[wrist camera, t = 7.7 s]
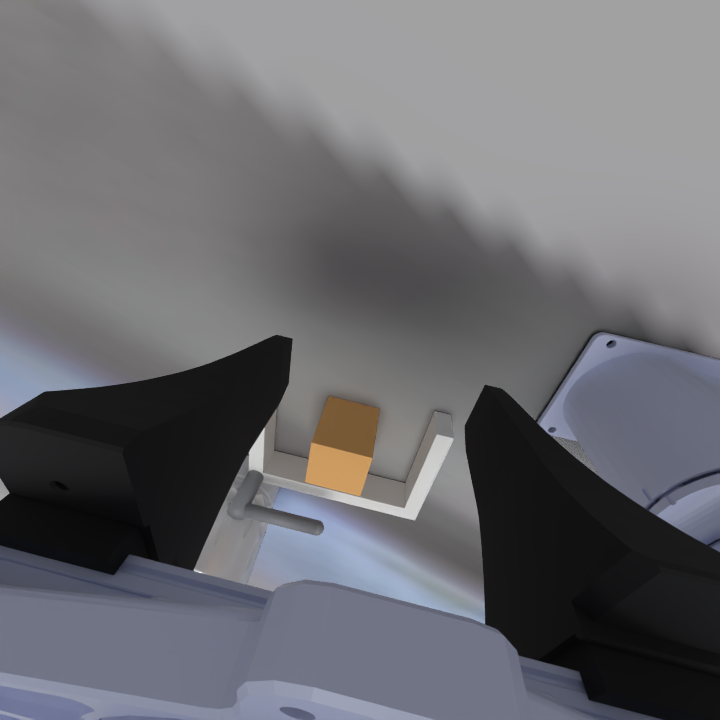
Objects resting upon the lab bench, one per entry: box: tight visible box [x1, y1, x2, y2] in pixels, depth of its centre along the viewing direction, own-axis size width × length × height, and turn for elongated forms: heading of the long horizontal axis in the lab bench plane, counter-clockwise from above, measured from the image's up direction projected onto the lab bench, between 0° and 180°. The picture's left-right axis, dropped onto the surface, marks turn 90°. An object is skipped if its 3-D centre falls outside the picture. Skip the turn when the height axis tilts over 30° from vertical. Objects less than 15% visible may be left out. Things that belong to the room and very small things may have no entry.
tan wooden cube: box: [305, 396, 379, 496], centre depth 23 cm, size 4×4×5 cm
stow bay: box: [227, 409, 454, 535], centre depth 24 cm, size 14×10×6 cm
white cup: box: [194, 456, 280, 585], centre depth 27 cm, size 8×8×10 cm
